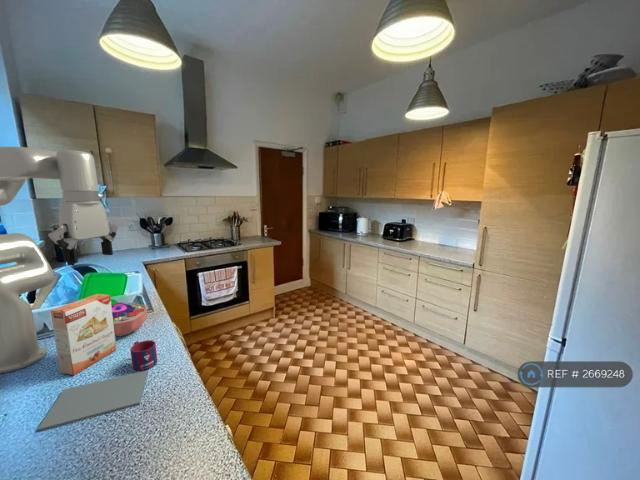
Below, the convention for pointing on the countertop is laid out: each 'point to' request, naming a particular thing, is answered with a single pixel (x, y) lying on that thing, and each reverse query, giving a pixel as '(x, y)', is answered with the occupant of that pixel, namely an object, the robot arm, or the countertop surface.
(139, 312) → the cell model
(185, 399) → the countertop surface
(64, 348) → the cracker box
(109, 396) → the rubber mat
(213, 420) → the countertop surface
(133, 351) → the mug
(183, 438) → the countertop surface
